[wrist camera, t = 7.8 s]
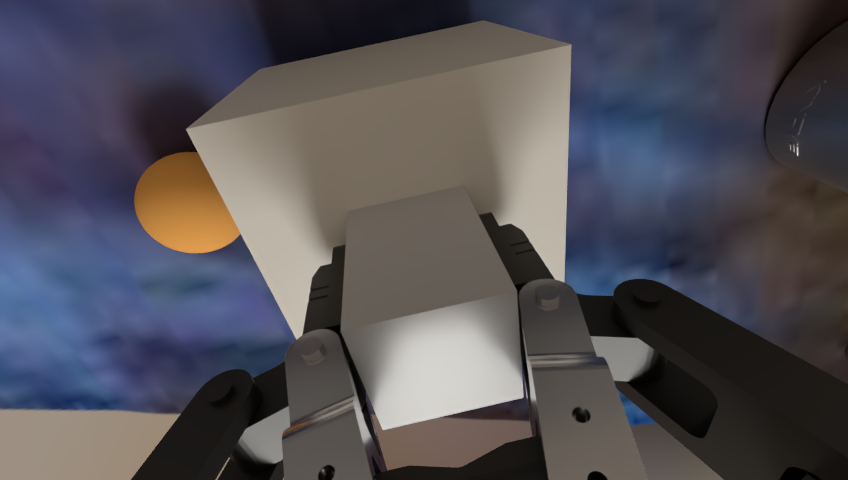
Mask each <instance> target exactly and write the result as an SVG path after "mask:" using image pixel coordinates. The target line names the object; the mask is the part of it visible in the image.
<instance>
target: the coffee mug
mask: <svg viewBox="0 0 848 480" xmlns="http://www.w3.org/2000/svg"><path fill="white" fill-rule="evenodd" d="M845 356H846V358H848V345H847V347H846V350H845Z"/></svg>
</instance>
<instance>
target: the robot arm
mask: <svg viewBox="0 0 848 480" xmlns="http://www.w3.org/2000/svg"><path fill="white" fill-rule="evenodd" d="M766 143H767V146H768V150H769V152H770V153H771V155H772V156H773V157H774V159H775V160H776V161H778V162H780V163H781V164H783V165H785V166H787V167H789V168H792V169H794V170H796V171H799V172H801V173H803V174H806V175H808V176H810V177H813V178H815V179H817V180H820V181H822V182H824V183H827V184H829V185H831V186H834V187H836V188H838V189H841V190H843V191H844V192H847V193H848V21H846V22H845V23H843V24H841V25H840V26H838V27H836V28H835V29H833V30H832V31H831V32H830V33H828V34H827V35H826V36H825V37H823V38H822V39H821V40H820V41H818V42H817V43H816V44H815V45H814V46H813V47H812V48H811V49H810V50H809V51H808V52H807V53H806V54H805V55H804V56H803V57H802V58H801V59H800V60H799V61H798V63H797V64H796V65H795V67H794V68H793V69H792V70H791V72H790V73H789V74H788V76H787V77H786V78H785V80H784V82H783V84H782V85H781V87H780V89H779V90H778V92H777V94H776V96H775V98H774V101H773V103H772V106H771V108H770V110H769V114H768V118H767V123H766ZM478 216H479V217H480V219H481V221H482V223H483V225H484V227H485V229H486V231H487V233H488V235H489V237H490V239H491V241H492V243H493V245H494V247H495V249H496V251H497V253H498V255H499V257H500V259H501V261H502V263H503V264H504V266H505V268H506V270H507V272H508V274H509V276H510V278H511V280H512V282H513V284H514V286H515V288H516V290H517V299H518V316H519V333H520V350H521V356H522V363H523V374H524V381H525V389H526V396H527V404H528V411H529V419H530V426H531V434H532V437H530V438H526V439H522V440H517V441H513V442H509V443H505V444H504V445H502V446H500V447H498V448H496V449H494V450H493V451H491V452H489V453H487V454H485V455H483V456H482V457H480V458H478V459H476V460H474V461H472V462H471V463H469V464H467V465H465V466H463V467H459V468H450V467H428V466H406V467H402V468H397V469H393V470H389V471H388V470H387V467H386V464H385V460H384V457H383V453H382V450H381V447H380V443H379V440H378V436H377V433H376V430H375V426H374V422H373V419H372V416H371V412H370V409H369V405H368V403H367V400H366V390H365V387H364V385H363V383H362V380H361V378H360V376H359V373H358V371H357V369H356V366H355V364H354V362H353V359H352V357H351V355H350V352H349V350H348V347H347V345H346V343H345V340H344V338H343V336H342V333H341V314H342V298H343V282H344V265H345V249H346V244H345V245H341V246H336V247H333V253H332V262H331V264H327V265H323V266H320V267H319V269H318V270H317V272H316V273H315V274H314V276H313V277H312V281H311V287H310V291H311V292H310V293H309V302H308V305H307V311H306V316H305V322H304V328H303V334H302V336H301V337H299V338H298V339H297V340H296V341H295V342H293V344H292V345H291V346H290V347H289V349H288V351H287V353H286V356H285V362H283V363H282V364H280V365H278V366H277V367H275V368H273V369H271V370H269V371H267V372H265V373H263V374H261V375H259V376H257V377H255V378H252V377H251V375H250V374H249V373H248V372H247V371H245V370H241V369H234V370H229V371H225V372H223V373H221V374H219V375H217V376H215V377H214V378H212V379H211V380H209V381H208V382H207V383H206V384H205V385H204V386H203V387H202V388H201V389H200V390H199V391H198V392H197V394H196V395H195V396H194V398H193V399H192V400H191V402H190V403H189V404H188V405H187V407H186V408H185V409H184V411H183V412H182V413H181V415H180V416H179V417H178V419H177V420H176V421H175V423H174V424H173V425H172V427H171V428H170V429H169V431H168V432H167V433H166V434H165V436H164V437H163V439H162V440H161V441H160V442H159V444H158V445H157V446H156V448H155V449H154V451H153V452H152V453H151V454H150V455H149V457H148V458H147V459H146V461H145V462H144V463H143V465H142V466H141V467H140V469H139V470H138V471H137V473H136V474H135V475H134V477H133V478H132V479H131V480H215V479H216V478H217V476H218V474H219V473H220V471H221V469H222V467H223V466H224V464H225V462H226V461H227V459H228V458H230V460H229V461H228V463H227V465H226V467H225V468H224V470H223V471H222V473H221V475H220V477H219V478H218V480H282V479H283V477H284V480H648V477H647V474H646V471H645V468H644V466H643V463H642V460H641V457H640V454H639V452H638V448H637V445H636V443H635V440H634V437H633V434H632V431H631V428H630V425H629V423H628V420H627V417H626V414H625V411H624V408H623V405H622V402H621V400H620V397H619V394H618V391H617V389H618V390H619V391H620V392H621V393H623V394H624V395H625V396H626V397H627V398H628V399H630V400H631V401H632V402H633V403H634V404H636V405H637V406H638V407H639V408H640V409H641V410H643V411H644V412H645V413H646V414H647V415H649V416H650V417H651V418H652V419H653V420H654V421H656V422H657V423H658V424H659V425H660V426H662V427H663V428H664V429H665V430H666V431H668V432H669V433H670V434H671V435H672V436H674V438H676V439H677V440H678V441H679V442H681V443H682V444H683V445H684V446H685V447H686V448H687V449H689V450H690V451H691V452H692V453H693V454H695V455H696V456H697V457H698V458H699V459H701V460H702V461H703V462H704V463H705V464H706V465H708V466H709V467H710V468H711V469H712V470H714V471H715V472H716V473H717V474H718V475H720V476H721V477H722V478H723V479H724V480H848V384H846V383H844V382H843V381H841V380H839V379H837V378H835V377H833V376H832V375H830V374H828V373H826V372H824V371H822V370H821V369H819V368H817V367H815V366H813V365H811V364H810V363H808V362H806V361H804V360H802V359H800V358H798V357H797V356H795V355H793V354H791V353H789V352H787V351H786V350H784V349H782V348H780V347H778V346H776V345H775V344H773V343H771V342H769V341H767V340H765V339H764V338H762V337H760V336H758V335H756V334H754V333H753V332H751V331H749V330H747V329H745V328H743V327H742V326H740V325H738V324H736V323H734V322H732V321H731V320H729V319H727V318H725V317H723V316H721V315H720V314H718V313H716V312H714V311H712V310H710V309H708V308H707V307H705V306H703V305H701V304H699V303H697V302H696V301H694V300H692V299H690V298H688V297H686V296H685V295H683V294H681V293H679V292H677V291H675V290H674V289H672V288H670V287H668V286H666V285H664V284H662V283H659V282H656V281H652V280H647V279H633V280H628V281H625V282H623V283H621V284H620V285H618V286H617V287H616V289H615V291H614V296H590V295H581V294H577V293H576V292H575V291H574V290H573V288H572V287H570V286H569V285H568V284H566V283H564V282H562V281H559V280H555V278H554V277H553V275H552V274H551V272H550V271H549V269H548V268H547V266H546V265H545V263H544V262H543V260H542V259H541V257H540V256H539V254H538V253H537V251H535V248H534V247H533V245H532V244H531V242H529V239H528V238H527V236H526V235H525V233H524V232H523V230H521V229H519V228H518V227H516V226H514V225H512V224H506V225H502V226H499V224H498V223H497V221H496V219H495V217H494V216H493V214H492V213H491V212H489V213H485V214H480V215H478Z"/></svg>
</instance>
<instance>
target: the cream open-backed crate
mask: <svg viewBox="0 0 848 480" xmlns="http://www.w3.org/2000/svg"><path fill="white" fill-rule="evenodd" d="M570 72H571V44H567V43H564V42H560V41H556V40H553V39H549V38H546V37H542V36H538V35H535V34H531V33H527V32H524V31H520V30H517V29H513V28H509V27H506V26H502V25H498V24H495V23H491V22H488V21H484V20H483V21H479V22H474V23H469V24H465V25H460V26H456V27H451V28H446V29H442V30H437V31H433V32H428V33H423V34H419V35H414V36H410V37H405V38H401V39H396V40H391V41H387V42H382V43H378V44H373V45H368V46H364V47H359V48H355V49H350V50H345V51H341V52H336V53H332V54H327V55H322V56H318V57H313V58H309V59H304V60H299V61H295V62H290V63H286V64H281V65H276V66H272V67H267V68H263V69H259V70H258V71H257V72H256V73H254V74H253V75H252V76H251V77H249V78H248V79H247V80H246V81H244V82H243V83H242V84H241V85H240V86H238V87H237V88H236V89H235V90H233V91H232V92H231V93H230V94H228V95H227V96H226V97H225V98H223V99H222V100H221V101H220V102H219V103H217V104H216V105H215V106H214V107H212V108H211V109H210V110H209V111H207V112H206V113H205V114H204V115H203V116H201V117H200V118H199V119H198V120H196V121H195V122H194V123H193V124H191V125H190V126H189V127H188V128H186V131H187V133H188V134H189V136H190V138H191V140H192V142H193V144H194V146H195V148H196V150H197V152H198V153H199V155H200V157H201V159H202V161H203V163H204V165H205V167H206V169H207V171H208V172H209V174H210V176H211V178H212V180H213V182H214V184H215V186H216V188H217V189H218V191H219V193H220V195H221V197H222V199H223V201H224V203H225V205H226V207H227V208H228V210H229V212H230V214H231V216H232V218H233V220H234V222H235V224H236V226H237V227H238V229H239V231H240V233H241V235H242V237H243V239H244V241H245V243H246V244H247V246H248V248H249V250H250V252H251V254H252V256H253V258H254V260H255V262H256V263H257V265H258V267H259V269H260V271H261V273H262V275H263V277H264V279H265V281H266V282H267V284H268V286H269V288H270V290H271V292H272V294H273V296H274V298H275V299H276V301H277V303H278V305H279V307H280V309H281V311H282V313H283V315H284V317H285V318H286V320H287V322H288V324H289V326H290V328H291V330H292V332H293V334H294V336H295V337H296V339H298V338H299V337H301V336H302V334H303V328H304V322H305V316H306V311H307V305H308V302H309V293H310V292H311V291H310V287H311V281H312V277H313V276H314V274H315V273H316V272H317V270H318V269H319V267H320V266H323V265H327V264H331V262H332V253H333V247H336V246H341V245H345V244H346V249H345V265H344V282H343V298H342V314H341V333H342V336H343V338H344V340H345V343H346V345H347V347H348V350H349V352H350V355H351V357H352V359H353V362H354V364H355V366H356V369H357V371H358V373H359V376H360V378H361V380H362V383H363V385H364V387H365V390H366V392H367V394H368V397H369V399H370V401H371V404H372V406H373V408H374V411H375V413H376V415H377V418H378V420H379V422H380V425H381V427H382V429H383V430H386V429H390V428H394V427H398V426H402V425H407V424H412V423H416V422H420V421H424V420H429V419H433V418H438V417H442V416H446V415H450V414H455V413H459V412H463V411H468V410H472V409H476V408H481V407H485V406H489V405H494V404H498V403H502V402H507V401H511V400H515V399H520V398H523V383H522V366H521V350H520V333H519V316H518V299H517V290H516V288H515V286H514V284H513V282H512V280H511V278H510V276H509V274H508V272H507V270H506V268H505V266H504V264H503V263H502V261H501V259H500V257H499V255H498V253H497V251H496V249H495V247H494V245H493V243H492V241H491V239H490V237H489V235H488V233H487V231H486V229H485V227H484V225H483V223H482V221H481V219H480V217H479V216H478V215H480V214H485V213H489V212H491V213H492V214H493V216H494V217H495V219H496V221H497V223H498V224H499V226H502V225H506V224H512V225H514V226H516V227H518V228H519V229H521V230H523V232H524V233H525V235H526V236H527V238H528V239H529V242H531V244H532V245H533V247H534V248H535V251H537V253H538V254H539V256H540V257H541V259H542V260H543V262H544V263H545V265H546V266H547V268H548V269H549V271H550V272H551V274H552V275H553V277H554V278H555V280H559V281H562V282H564V273H565V240H566V206H567V172H568V139H569V105H570Z"/></svg>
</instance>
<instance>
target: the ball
mask: <svg viewBox="0 0 848 480" xmlns="http://www.w3.org/2000/svg"><path fill="white" fill-rule="evenodd" d="M134 202H135V210H136V214H137V216H138V219H139V221H140V223H141V224H142V226H143V228H144V229H145V230H146V231H147V233H148V234H149V235H150V236H151V237H153V238H154V239H155V240H156V241H158V242H159V243H161V244H163V245H165V246H166V247H169V248H171V249H174V250H177V251H181V252H186V253H205V252H210V251H214V250H217V249H220V248H222V247H224V246H226V245H228V244H229V243H231V242H232V241H233V240H235V239H236V238H237V237H238V236H239V235H240V234H241V233H240V231H239V229H238V227H237V226H236V224H235V222H234V220H233V218H232V216H231V214H230V212H229V210H228V208H227V207H226V205H225V203H224V201H223V199H222V197H221V195H220V193H219V191H218V189H217V188H216V186H215V184H214V182H213V180H212V178H211V176H210V174H209V172H208V171H207V169H206V167H205V165H204V163H203V161H202V159H201V157H200V155H199V153H198V152H181V153H175V154H172V155H169V156H166V157H164V158H161V159H160V160H158V161H157V162H155V163H154V164H152V165H151V166H150V167H149V168H148V169H147V170H146V171H145V172H144V173H143V175H142V176H141V178H140V180H139V182H138V184H137V187H136V191H135V198H134Z"/></svg>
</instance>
